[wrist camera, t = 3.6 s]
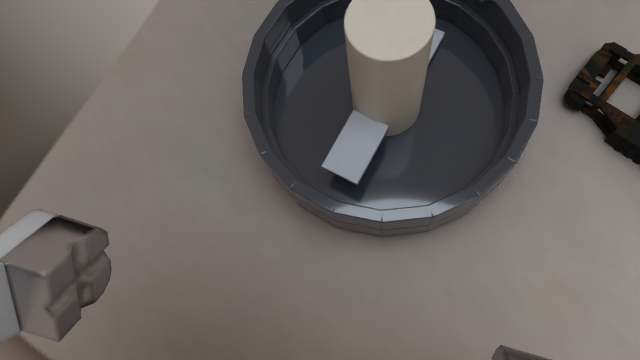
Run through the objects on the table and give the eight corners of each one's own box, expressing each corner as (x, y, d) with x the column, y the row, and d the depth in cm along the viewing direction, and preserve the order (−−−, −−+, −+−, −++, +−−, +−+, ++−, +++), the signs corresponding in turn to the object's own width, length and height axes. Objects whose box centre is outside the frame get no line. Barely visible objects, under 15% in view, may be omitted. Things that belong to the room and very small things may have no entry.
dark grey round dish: (379, 295, 25) (379, 288, 21) (211, 107, 29) (186, 73, 25) (576, 114, 27) (609, 78, 23) (391, -41, 31) (393, -93, 27)
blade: (372, 201, 26) (369, 147, 18) (312, 171, 27) (285, 108, 19) (457, 43, 28) (486, -64, 20) (398, 19, 29) (405, -92, 21)
